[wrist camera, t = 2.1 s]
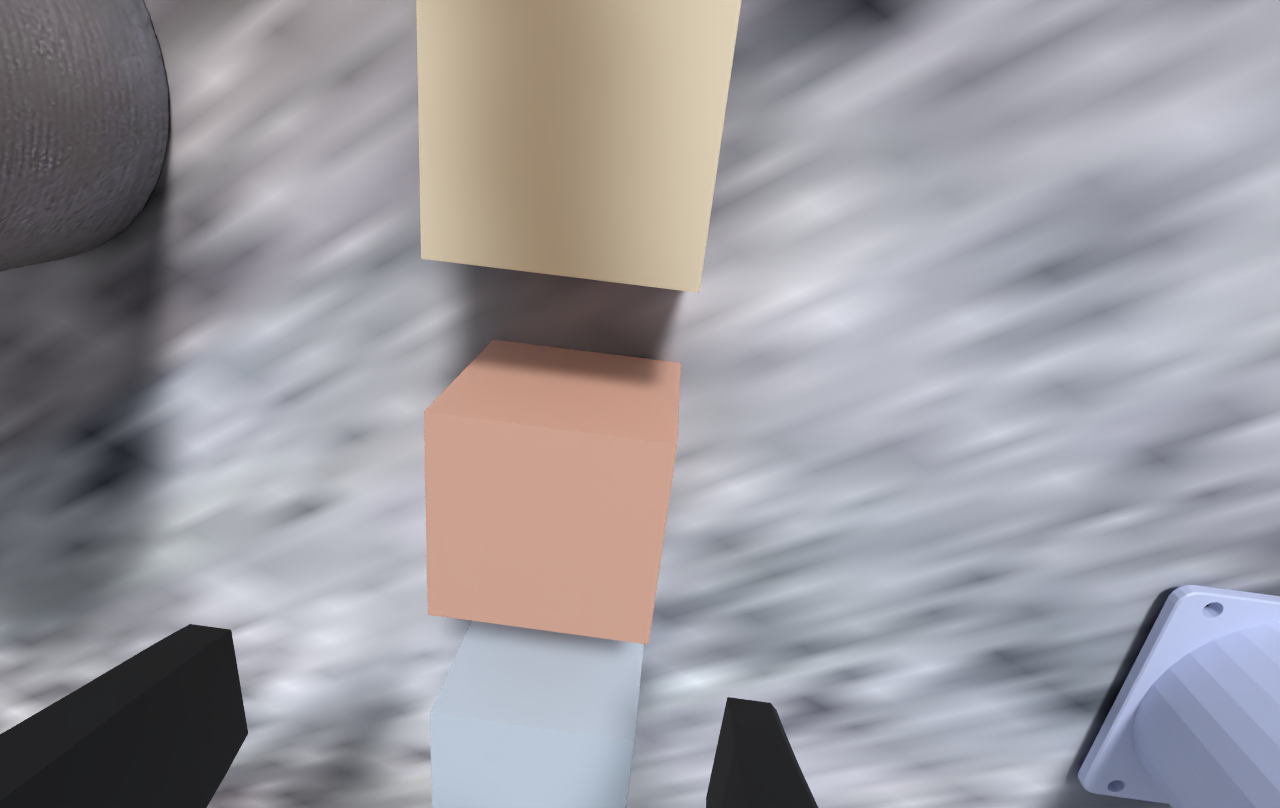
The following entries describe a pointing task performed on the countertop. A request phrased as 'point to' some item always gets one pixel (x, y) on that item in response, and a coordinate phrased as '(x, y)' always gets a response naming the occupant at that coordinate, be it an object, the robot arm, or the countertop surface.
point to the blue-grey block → (535, 720)
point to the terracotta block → (551, 489)
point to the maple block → (573, 134)
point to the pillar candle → (76, 124)
